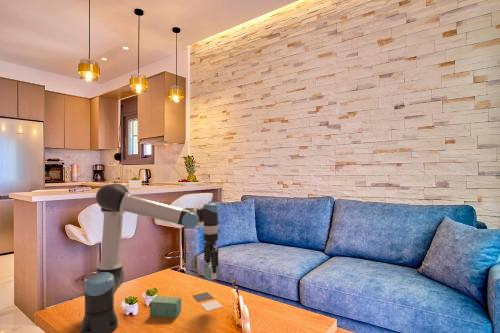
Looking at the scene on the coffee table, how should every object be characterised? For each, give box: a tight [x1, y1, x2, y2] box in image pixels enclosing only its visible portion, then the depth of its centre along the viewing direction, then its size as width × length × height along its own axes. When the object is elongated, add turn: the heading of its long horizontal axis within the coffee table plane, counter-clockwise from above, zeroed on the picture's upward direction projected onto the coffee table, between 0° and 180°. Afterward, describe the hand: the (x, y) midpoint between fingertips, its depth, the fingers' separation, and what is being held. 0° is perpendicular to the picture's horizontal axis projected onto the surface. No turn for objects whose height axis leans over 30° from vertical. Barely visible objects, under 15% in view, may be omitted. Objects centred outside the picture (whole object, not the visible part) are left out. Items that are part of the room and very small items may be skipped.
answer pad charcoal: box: [192, 291, 214, 303], centre depth 163 cm, size 9×9×1 cm
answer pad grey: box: [199, 299, 224, 312], centre depth 153 cm, size 9×9×1 cm
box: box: [149, 295, 182, 319], centre depth 145 cm, size 7×14×8 cm, turn 84°
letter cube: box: [203, 263, 220, 281], centre depth 153 cm, size 6×6×6 cm
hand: (211, 276), depth 153 cm, fingers closed on letter cube, 6 cm apart
